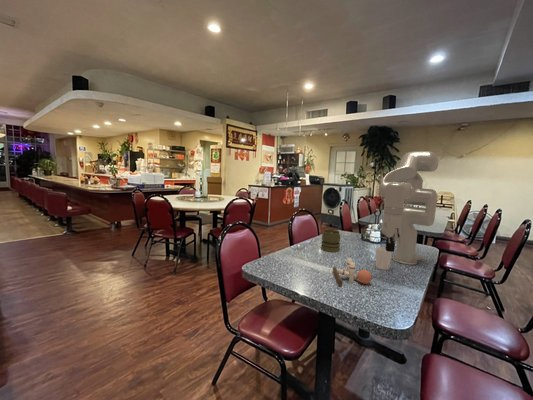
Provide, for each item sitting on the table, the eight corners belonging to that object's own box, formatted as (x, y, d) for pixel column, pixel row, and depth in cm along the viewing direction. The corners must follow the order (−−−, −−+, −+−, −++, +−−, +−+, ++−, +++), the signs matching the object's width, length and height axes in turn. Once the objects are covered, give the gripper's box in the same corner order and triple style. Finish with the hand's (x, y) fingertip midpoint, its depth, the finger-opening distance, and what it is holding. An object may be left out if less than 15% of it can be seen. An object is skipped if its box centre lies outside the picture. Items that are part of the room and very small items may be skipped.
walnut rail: (335, 271, 120) (335, 267, 120) (341, 286, 104) (342, 281, 104) (332, 271, 120) (333, 266, 120) (339, 286, 104) (339, 280, 104)
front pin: (357, 274, 112) (338, 267, 113) (358, 276, 110) (339, 269, 111) (355, 279, 112) (336, 272, 113) (356, 281, 110) (337, 273, 111)
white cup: (381, 271, 123) (383, 252, 122) (370, 265, 131) (372, 247, 130) (394, 269, 125) (395, 251, 124) (383, 264, 133) (384, 246, 132)
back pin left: (352, 281, 110) (354, 262, 109) (354, 283, 108) (355, 263, 107) (347, 280, 110) (349, 261, 109) (348, 282, 108) (350, 263, 107)
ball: (352, 274, 111) (361, 277, 113) (358, 285, 106) (368, 287, 108) (360, 265, 108) (369, 268, 110) (367, 276, 103) (377, 279, 105)
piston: (340, 230, 159) (340, 234, 148) (339, 248, 160) (339, 253, 149) (323, 228, 162) (321, 232, 151) (322, 246, 163) (320, 251, 152)
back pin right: (350, 276, 115) (351, 258, 114) (351, 278, 113) (352, 259, 112) (345, 276, 115) (346, 257, 114) (346, 278, 113) (347, 259, 112)
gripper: (378, 208, 115) (375, 245, 117) (391, 213, 100) (387, 256, 102) (395, 208, 114) (391, 246, 116) (410, 214, 99) (406, 257, 102)
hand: (389, 250), depth 109 cm, fingers closed
